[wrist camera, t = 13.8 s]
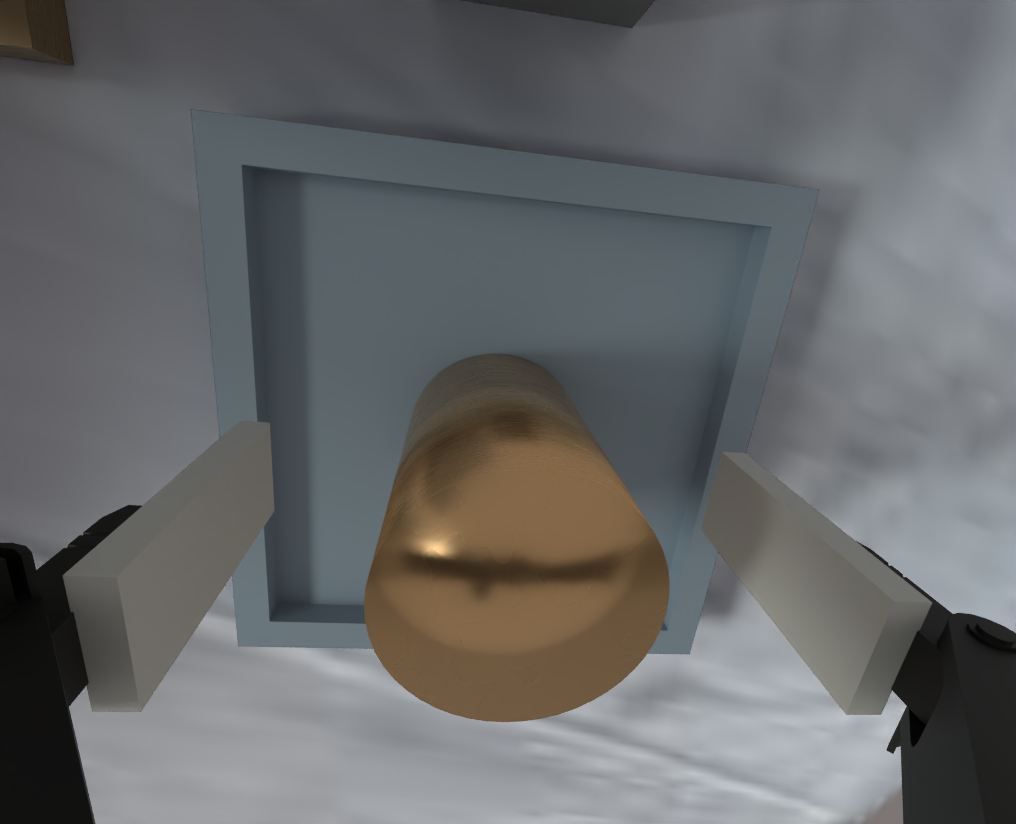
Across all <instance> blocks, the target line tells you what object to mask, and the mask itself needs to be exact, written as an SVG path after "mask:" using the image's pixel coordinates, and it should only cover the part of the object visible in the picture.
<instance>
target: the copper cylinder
mask: <svg viewBox="0 0 1016 824" xmlns="http://www.w3.org/2000/svg"><path fill="white" fill-rule="evenodd" d="M669 593H670V579H669V572H668V565H667V561H666V558H665V555H664V552H663V549H662V547H661V545H660V543H659V541H658V539H657V536H656V534H655V533H654V531H653V530H652V528H651V526H650V525H649V523H648V522H647V520H646V518H645V517H644V515H643V514H642V512H641V510H640V509H639V507H638V506H637V504H636V503H635V501H634V499H633V498H632V496H631V495H630V493H629V491H628V490H627V488H626V487H625V485H624V483H623V482H622V480H621V479H620V477H619V475H618V474H617V472H616V471H615V469H614V468H613V466H612V464H611V463H610V461H609V460H608V458H607V456H606V455H605V453H604V452H603V450H602V448H601V447H600V445H599V444H598V442H597V440H596V439H595V437H594V436H593V434H592V432H591V431H590V429H589V428H588V426H587V425H586V423H585V421H584V420H583V418H582V417H581V415H580V413H579V412H578V410H577V409H576V407H575V405H574V404H573V402H572V401H571V399H570V397H569V396H568V394H567V393H566V391H565V390H564V388H563V387H562V386H561V384H560V383H559V382H558V381H557V380H556V379H555V377H554V376H553V375H552V374H550V373H549V372H548V371H547V370H545V369H544V368H542V367H541V366H539V365H537V364H536V363H534V362H532V361H529V360H527V359H525V358H521V357H518V356H514V355H508V354H496V353H490V354H481V355H476V356H472V357H468V358H465V359H463V360H460V361H457V362H456V363H454V364H452V365H450V366H448V367H447V368H445V369H444V370H442V371H441V372H440V373H438V374H437V375H436V376H435V377H434V378H433V379H432V380H431V381H430V382H429V383H428V385H427V386H426V387H425V388H424V390H423V391H422V393H421V394H420V396H419V398H418V400H417V402H416V404H415V407H414V409H413V413H412V417H411V420H410V424H409V428H408V431H407V435H406V439H405V443H404V446H403V450H402V454H401V457H400V461H399V465H398V468H397V472H396V476H395V480H394V483H393V487H392V491H391V494H390V498H389V502H388V505H387V509H386V513H385V517H384V520H383V524H382V528H381V531H380V535H379V539H378V542H377V546H376V550H375V553H374V557H373V561H372V565H371V568H370V572H369V576H368V580H367V583H366V587H365V597H364V614H365V623H366V628H367V632H368V636H369V639H370V641H371V644H372V646H373V649H374V651H375V653H376V655H377V656H378V658H379V660H380V661H381V663H382V665H383V666H384V667H385V669H386V670H387V671H388V672H389V673H390V675H391V676H392V677H393V678H394V679H395V680H396V681H397V682H398V683H399V684H400V685H401V686H403V687H404V688H405V689H406V690H407V691H409V692H410V693H411V694H413V695H414V696H416V697H417V698H419V699H420V700H422V701H424V702H426V703H428V704H430V705H432V706H433V707H435V708H438V709H440V710H443V711H446V712H448V713H451V714H454V715H458V716H462V717H466V718H470V719H476V720H483V721H495V722H516V721H528V720H535V719H541V718H545V717H549V716H554V715H558V714H561V713H564V712H567V711H569V710H572V709H575V708H577V707H580V706H582V705H584V704H586V703H588V702H590V701H592V700H594V699H596V698H598V697H599V696H601V695H603V694H604V693H606V692H608V691H609V690H610V689H612V688H613V687H614V686H616V685H617V684H618V683H620V682H621V681H622V680H623V679H624V678H625V677H627V676H628V675H629V674H630V673H631V672H632V671H633V670H634V669H635V668H636V667H637V666H638V664H639V663H640V662H641V661H642V660H643V659H644V657H645V656H646V655H647V653H648V652H649V650H650V649H651V647H652V645H653V644H654V642H655V640H656V638H657V636H658V634H659V632H660V630H661V628H662V625H663V622H664V619H665V616H666V613H667V608H668V602H669Z"/></svg>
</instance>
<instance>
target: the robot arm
mask: <svg viewBox="0 0 1016 824" xmlns="http://www.w3.org/2000/svg"><path fill="white" fill-rule="evenodd" d="M274 511H275V510H274V491H273V472H272V453H271V434H270V423H268V422H253V421H240V422H239V423H237V424H236V425H235V426H234V427H233V428H232V429H230V430H229V431H228V432H227V433H226V434H225V435H224V436H222V437H221V438H220V439H219V440H218V441H217V442H216V443H214V444H213V445H212V446H211V447H210V448H209V449H207V450H206V451H205V452H204V453H203V454H202V455H201V456H199V457H198V458H197V459H196V460H195V461H194V462H193V463H191V464H190V465H189V466H188V467H187V468H186V469H184V470H183V471H182V472H181V473H180V474H179V475H178V476H176V477H175V478H174V479H173V480H172V481H171V482H170V483H168V484H167V485H166V486H165V487H164V488H163V489H161V490H160V491H159V492H158V493H157V494H156V495H155V496H153V497H152V498H151V499H150V500H149V501H148V502H147V503H145V504H144V505H143V506H136V505H128V506H125V507H123V508H121V509H119V510H117V511H115V512H113V513H111V514H108V515H106V516H104V517H102V518H101V519H100V520H98V521H97V522H96V523H95V524H93V525H92V526H91V527H90V528H88V529H87V530H86V531H85V532H83V536H82V535H80V536H78V537H77V538H76V539H75V540H73V541H72V542H71V543H70V544H68V547H67V548H63V549H62V550H61V551H60V552H59V553H57V554H56V555H55V556H54V557H52V558H51V559H50V560H49V561H47V562H46V563H45V564H44V565H42V566H41V567H40V568H39V569H37V570H36V568H35V563H34V559H33V555H32V552H31V551H30V550H29V549H28V548H27V547H26V546H23V545H19V544H15V543H0V824H95V820H94V815H93V811H92V807H91V802H90V798H89V794H88V789H87V785H86V780H85V776H84V772H83V767H82V763H81V758H80V754H79V750H78V745H77V741H76V737H75V732H74V728H73V723H72V719H71V715H70V711H69V706H70V705H71V703H72V702H73V701H74V700H75V699H76V697H77V696H78V695H79V694H80V693H81V691H82V690H83V689H84V688H85V686H86V685H87V690H88V694H89V699H90V703H91V708H92V712H141V711H142V709H143V708H144V706H145V705H146V703H147V702H148V700H149V699H150V697H151V696H152V694H153V693H154V691H155V690H156V688H157V687H158V685H159V684H160V682H161V681H162V679H163V678H164V676H165V675H166V673H167V672H168V670H169V669H170V667H171V666H172V664H173V663H174V661H175V660H176V658H177V657H178V655H179V654H180V652H181V651H182V649H183V648H184V646H185V645H186V643H187V642H188V640H189V639H190V637H191V635H192V634H193V632H194V631H195V629H196V628H197V626H198V625H199V623H200V622H201V620H202V619H203V617H204V616H205V614H206V613H207V611H208V610H209V608H210V607H211V605H212V604H213V602H214V601H215V599H216V598H217V596H218V595H219V593H220V592H221V590H222V589H223V587H224V586H225V584H226V583H227V581H228V580H229V578H230V577H231V575H232V574H233V572H234V571H235V569H236V568H237V566H238V565H239V563H240V562H241V560H242V559H243V557H244V556H245V554H246V553H247V551H248V550H249V548H250V547H251V545H252V544H253V542H254V541H255V539H256V538H257V536H258V535H259V533H260V532H261V530H262V529H263V527H264V526H265V524H266V523H267V521H268V520H269V518H270V517H271V515H272V514H273V512H274ZM701 531H702V532H703V533H704V534H705V536H706V537H707V538H708V540H709V541H710V542H711V543H712V545H713V546H714V547H715V548H716V550H717V551H718V552H719V554H720V555H721V556H722V557H723V559H724V560H725V561H726V562H727V564H728V565H729V566H730V568H731V569H732V570H733V571H734V573H735V574H736V575H737V576H738V578H739V579H740V580H741V581H742V583H743V584H744V585H745V587H746V588H747V589H748V590H749V592H750V593H751V594H752V595H753V597H754V598H755V599H756V601H757V602H758V603H759V604H760V606H761V607H762V608H763V609H764V611H765V612H766V613H767V615H768V616H769V617H770V618H771V620H772V621H773V622H774V623H775V625H776V626H777V627H778V629H779V630H780V631H781V632H782V634H783V635H784V636H785V637H786V639H787V640H788V641H789V643H790V644H791V645H792V646H793V648H794V649H795V650H796V651H797V653H798V654H799V655H800V657H801V658H802V659H803V660H804V662H805V663H806V664H807V665H808V667H809V668H810V669H811V671H812V672H813V673H814V674H815V676H816V677H817V678H818V679H819V681H820V682H821V683H822V684H823V686H824V687H825V688H826V690H827V691H828V692H829V693H830V695H831V696H832V697H833V698H834V700H835V701H836V702H837V704H838V705H839V706H840V707H841V709H842V710H843V711H844V712H845V714H846V715H881V714H882V711H883V709H884V707H885V705H886V703H887V701H888V698H889V696H890V694H891V692H892V690H893V691H894V693H895V694H896V695H897V696H898V697H899V698H900V699H901V700H902V701H903V702H904V703H905V704H906V706H907V707H906V709H905V711H904V713H903V715H902V717H901V720H900V722H899V724H898V726H897V728H896V730H895V732H894V734H893V736H892V738H891V740H890V743H889V745H888V748H887V751H889V752H891V753H894V751H895V749H896V747H900V746H901V766H902V795H903V824H1016V633H1014V632H1013V631H1011V630H1009V629H1008V628H1006V627H1004V626H1002V625H1000V624H997V623H995V622H993V621H991V620H988V619H986V618H982V617H979V616H975V615H972V614H964V613H956V614H952V613H951V612H950V611H948V610H947V609H946V608H945V607H943V606H942V605H941V604H940V603H938V602H937V601H936V600H934V599H933V598H932V597H931V596H929V595H928V594H927V593H926V592H924V591H923V590H922V589H921V588H919V587H918V586H917V585H915V584H914V583H913V582H912V581H910V580H909V579H908V578H907V577H903V574H902V573H900V572H899V571H898V570H896V569H895V568H894V567H893V566H889V565H888V562H886V561H885V560H884V559H883V558H881V557H880V556H879V555H877V554H876V553H875V552H874V551H872V550H871V549H870V548H868V547H866V546H864V545H862V544H860V543H858V542H857V541H855V540H853V539H852V538H851V537H850V536H848V535H847V534H846V533H845V532H843V531H842V530H841V529H840V528H838V527H837V526H836V525H835V524H833V523H832V522H831V521H830V520H828V519H827V518H826V517H825V516H823V515H822V514H821V513H820V512H818V511H817V510H816V509H815V508H813V507H812V506H811V505H810V504H808V503H807V502H806V501H805V500H803V499H802V498H801V497H800V496H798V495H797V494H796V493H795V492H793V491H792V490H791V489H790V488H788V487H787V486H786V485H785V484H783V483H782V482H781V481H780V480H778V479H777V478H776V477H775V476H773V475H772V474H771V473H770V472H768V471H767V470H766V469H765V468H763V467H762V466H761V465H760V464H758V463H757V462H756V461H755V460H753V459H752V458H751V457H750V456H748V455H747V454H746V453H734V452H722V453H721V457H720V461H719V464H718V468H717V472H716V476H715V480H714V484H713V487H712V491H711V495H710V499H709V503H708V506H707V510H706V514H705V518H704V522H703V525H702V529H701Z"/></svg>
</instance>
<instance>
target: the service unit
mask: <svg viewBox="0 0 1016 824" xmlns="http://www.w3.org/2000/svg"><path fill="white" fill-rule="evenodd" d="M0 56H5V57H13V58H20V59H28V60H35V61H43V62H50V63H58V64H65V65H73V58H72V52H71V45H70V39H69V32H68V25H67V19H66V12H65V5H64V0H0ZM73 66H74V65H73Z"/></svg>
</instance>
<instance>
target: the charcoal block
mask: <svg viewBox="0 0 1016 824" xmlns="http://www.w3.org/2000/svg"><path fill="white" fill-rule="evenodd" d="M461 1H468V2H474V3H480V4H486V5H493V6H499V7H505V8H511V9H518V10H524V11H530V12H536V13H542V14H549V15H555V16H561V17H567V18H574V19H580V20H586V21H592V22H598V23H605V24H611V25H617V26H623V27H630V28H632V27H633V26H634V25H635V24H636V23H637V21H638V20H639V19H640V18H641V17H642V15H643V14H644V13H645V12H646V11H647V10H648V8H649V7H650V6H651V5H652V4H653V2H654V1H655V0H461Z"/></svg>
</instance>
